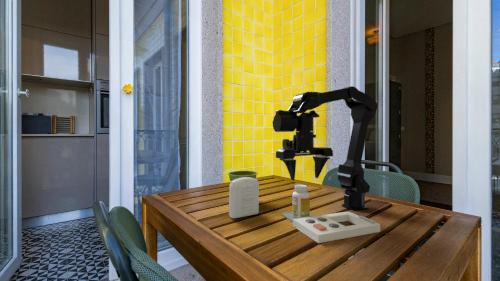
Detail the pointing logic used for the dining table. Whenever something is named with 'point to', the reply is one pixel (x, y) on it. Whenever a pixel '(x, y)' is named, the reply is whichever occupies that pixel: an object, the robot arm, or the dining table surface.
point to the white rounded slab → (243, 197)
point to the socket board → (335, 226)
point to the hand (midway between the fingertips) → (304, 179)
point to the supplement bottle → (301, 202)
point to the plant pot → (242, 174)
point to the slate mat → (291, 216)
